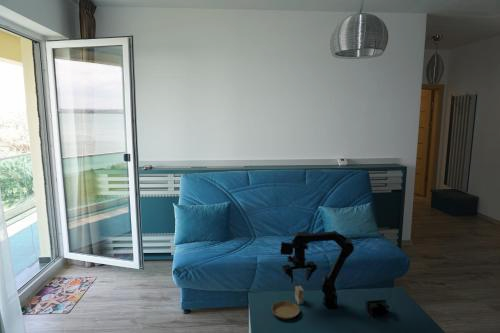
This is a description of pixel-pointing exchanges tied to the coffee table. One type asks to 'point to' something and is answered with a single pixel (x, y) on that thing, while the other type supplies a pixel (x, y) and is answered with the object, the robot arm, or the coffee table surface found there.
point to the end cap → (377, 308)
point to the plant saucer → (285, 309)
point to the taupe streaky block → (299, 294)
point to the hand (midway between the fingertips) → (299, 282)
